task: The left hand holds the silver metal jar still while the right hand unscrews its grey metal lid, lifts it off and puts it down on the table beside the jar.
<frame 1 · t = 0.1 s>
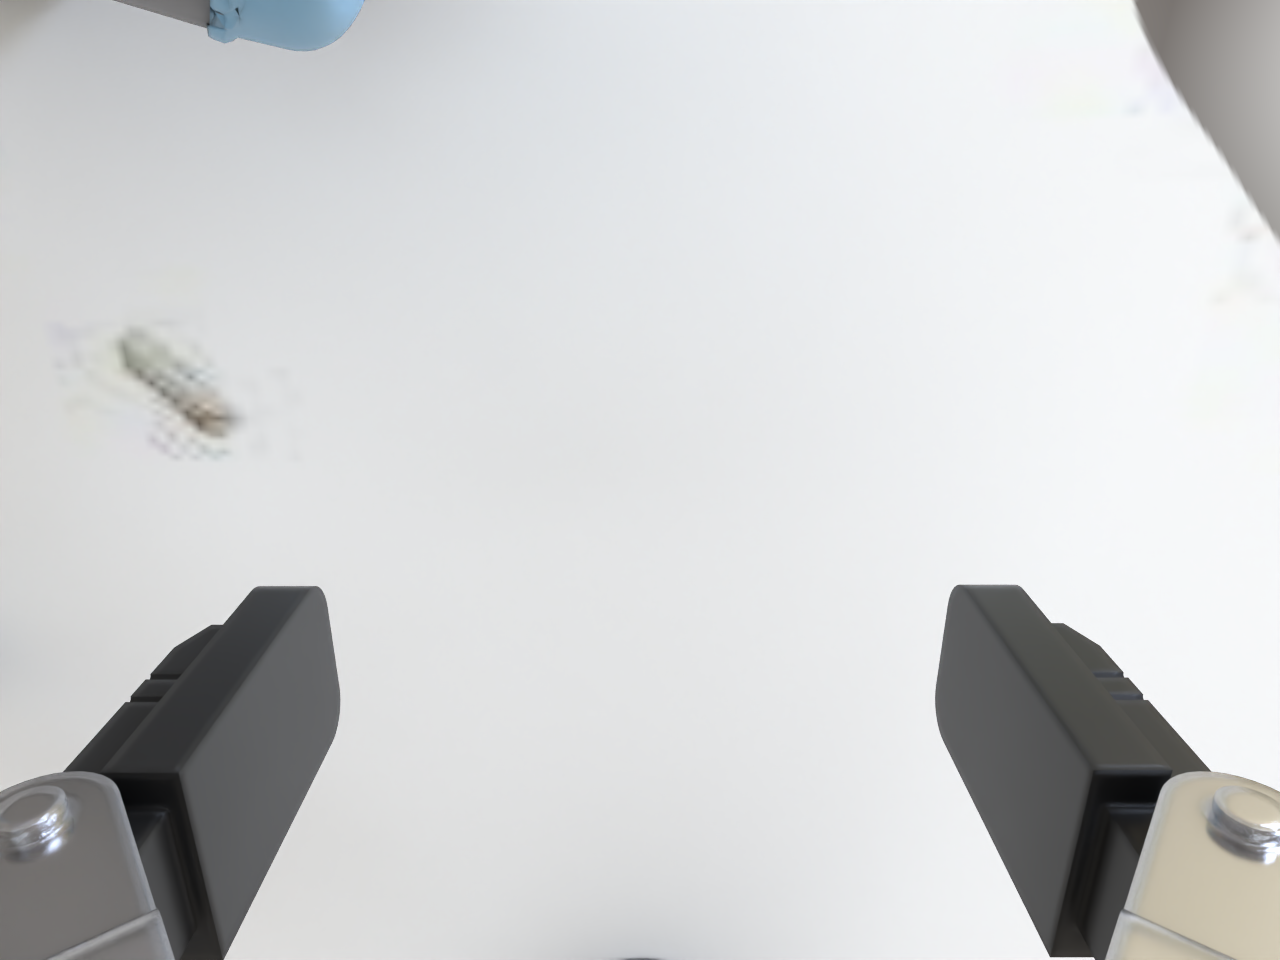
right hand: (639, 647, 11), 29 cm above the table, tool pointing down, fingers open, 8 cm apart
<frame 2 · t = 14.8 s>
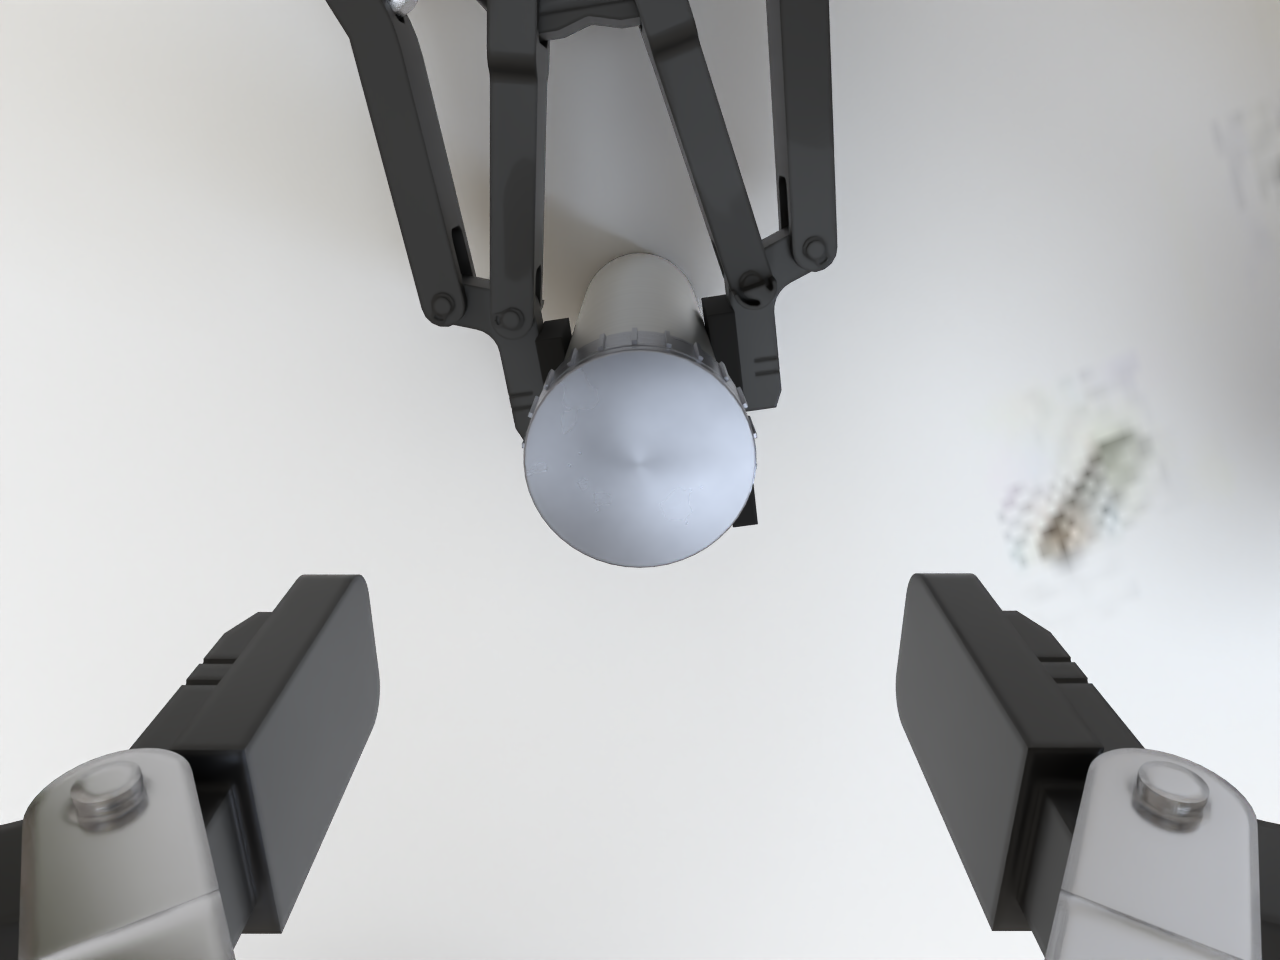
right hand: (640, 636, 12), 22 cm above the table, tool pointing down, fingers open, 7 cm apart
jar: (639, 310, 32), on the table, touching left hand
lid: (639, 458, 18), point 16 cm above the table, screwed on, not yet turned
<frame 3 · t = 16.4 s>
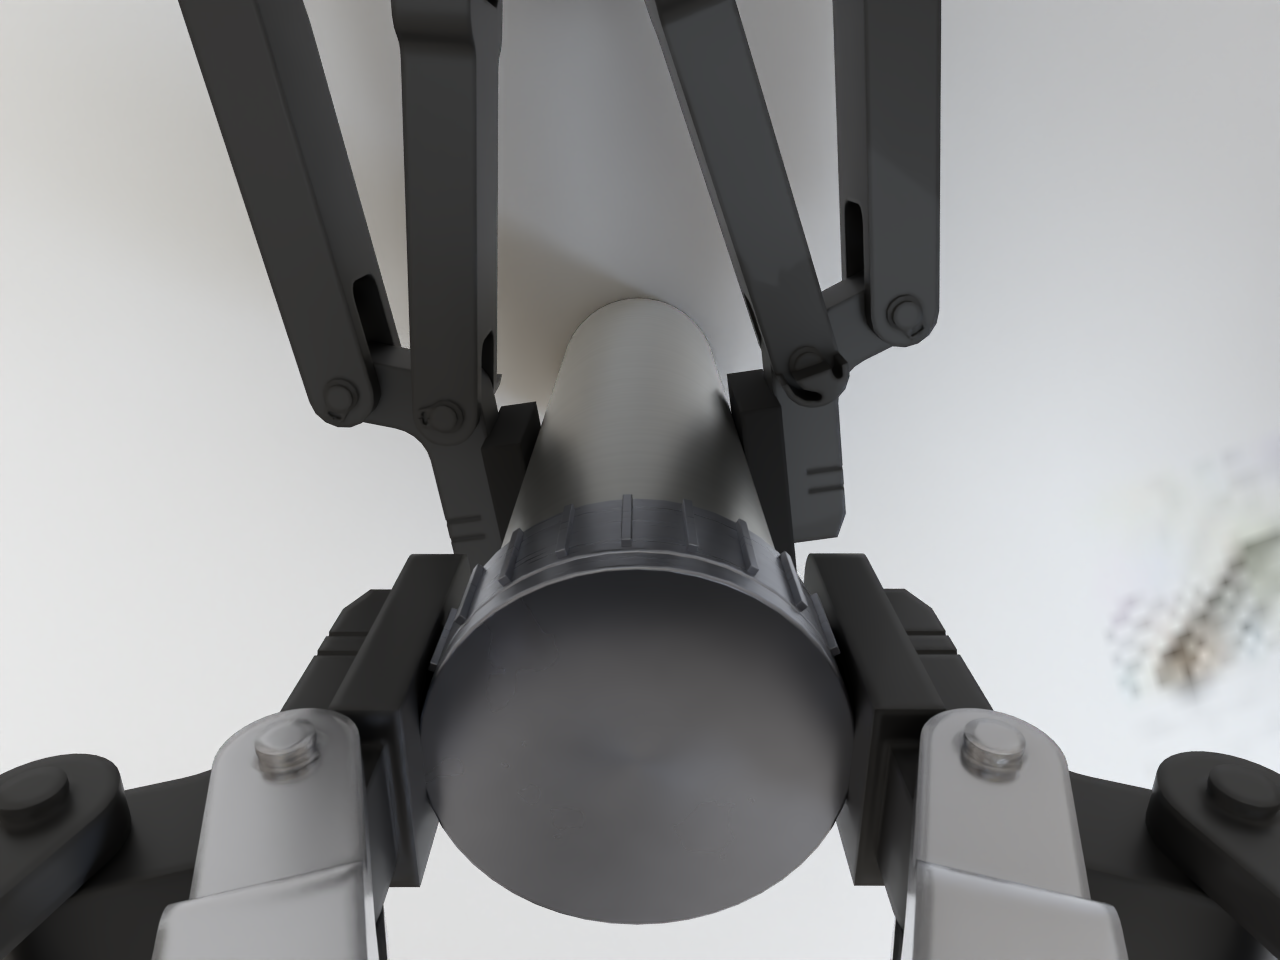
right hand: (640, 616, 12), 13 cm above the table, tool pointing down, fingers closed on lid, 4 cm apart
jar: (638, 373, 24), on the table, touching left hand
lid: (637, 741, 10), point 16 cm above the table, screwed on, not yet turned, touching right hand
when the right hand's fingers open (13 cm above the table, at t = 17.8 s): lid stays where it is, point 16 cm above the table.
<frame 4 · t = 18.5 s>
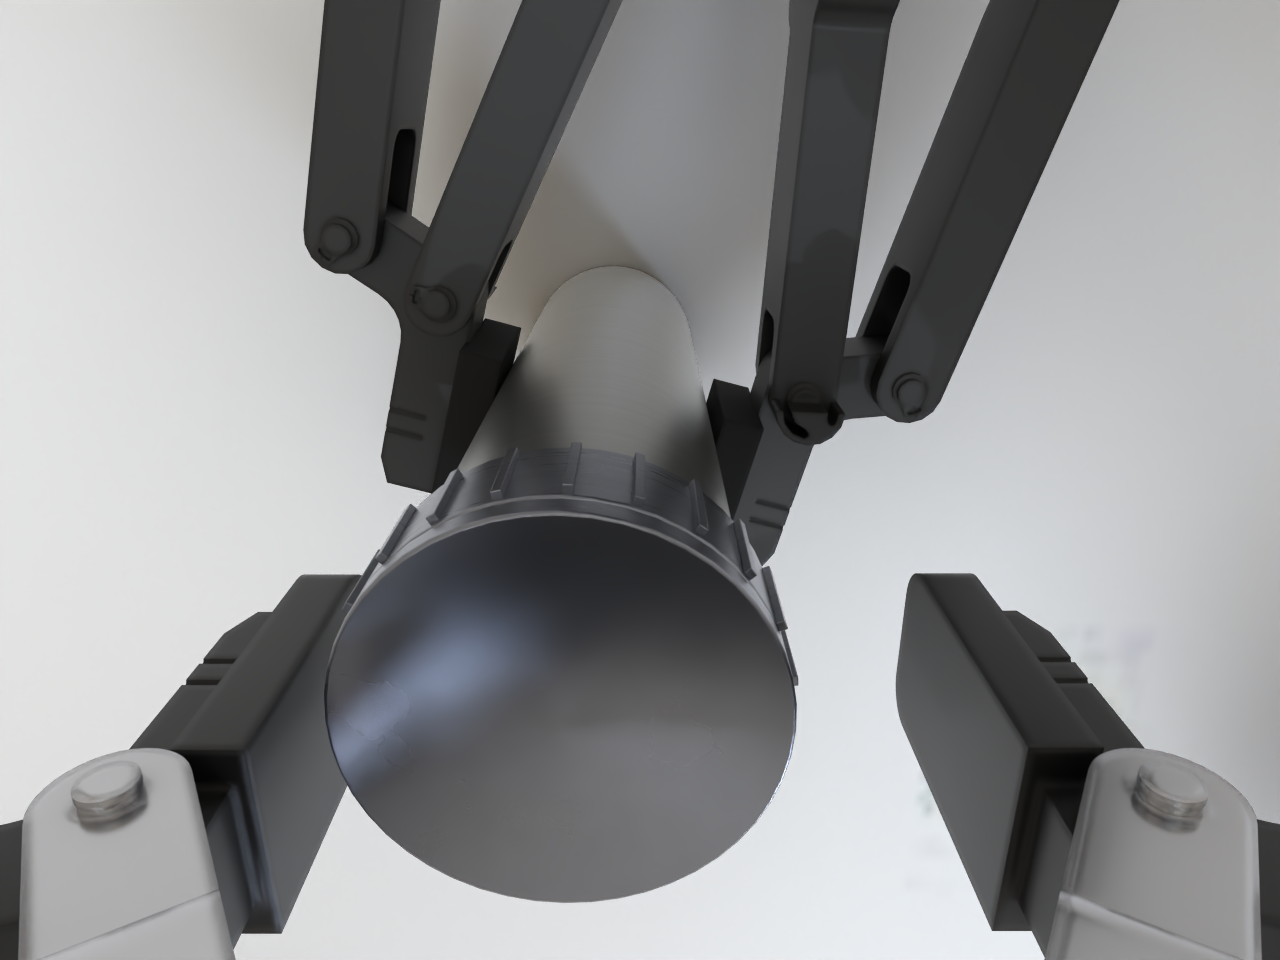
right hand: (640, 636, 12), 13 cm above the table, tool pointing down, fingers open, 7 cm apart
jar: (613, 344, 24), on the table, touching left hand
lid: (563, 706, 9), point 16 cm above the table, turned 67° so far, risen 0.2 cm, still on its thread
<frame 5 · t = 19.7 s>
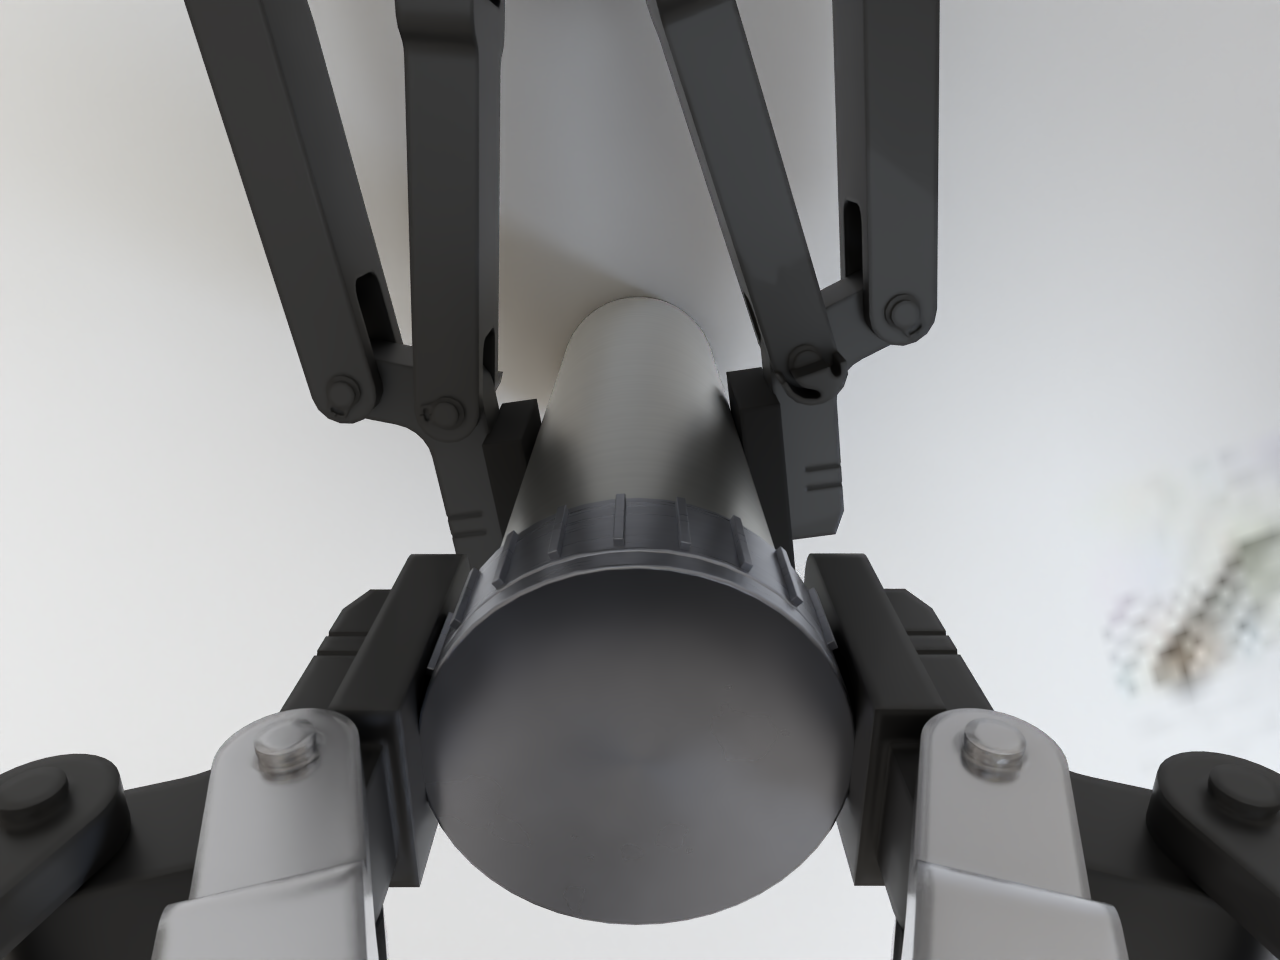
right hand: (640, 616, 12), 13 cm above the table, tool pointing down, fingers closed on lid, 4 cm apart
jar: (638, 372, 24), on the table, touching left hand
lid: (636, 741, 10), point 16 cm above the table, turned 67° so far, risen 0.2 cm, still on its thread, touching right hand
when the right hand's fingers open (0 cm above the table, at t = 25.7 s): lid drops 2 cm, point 1 cm above the table.
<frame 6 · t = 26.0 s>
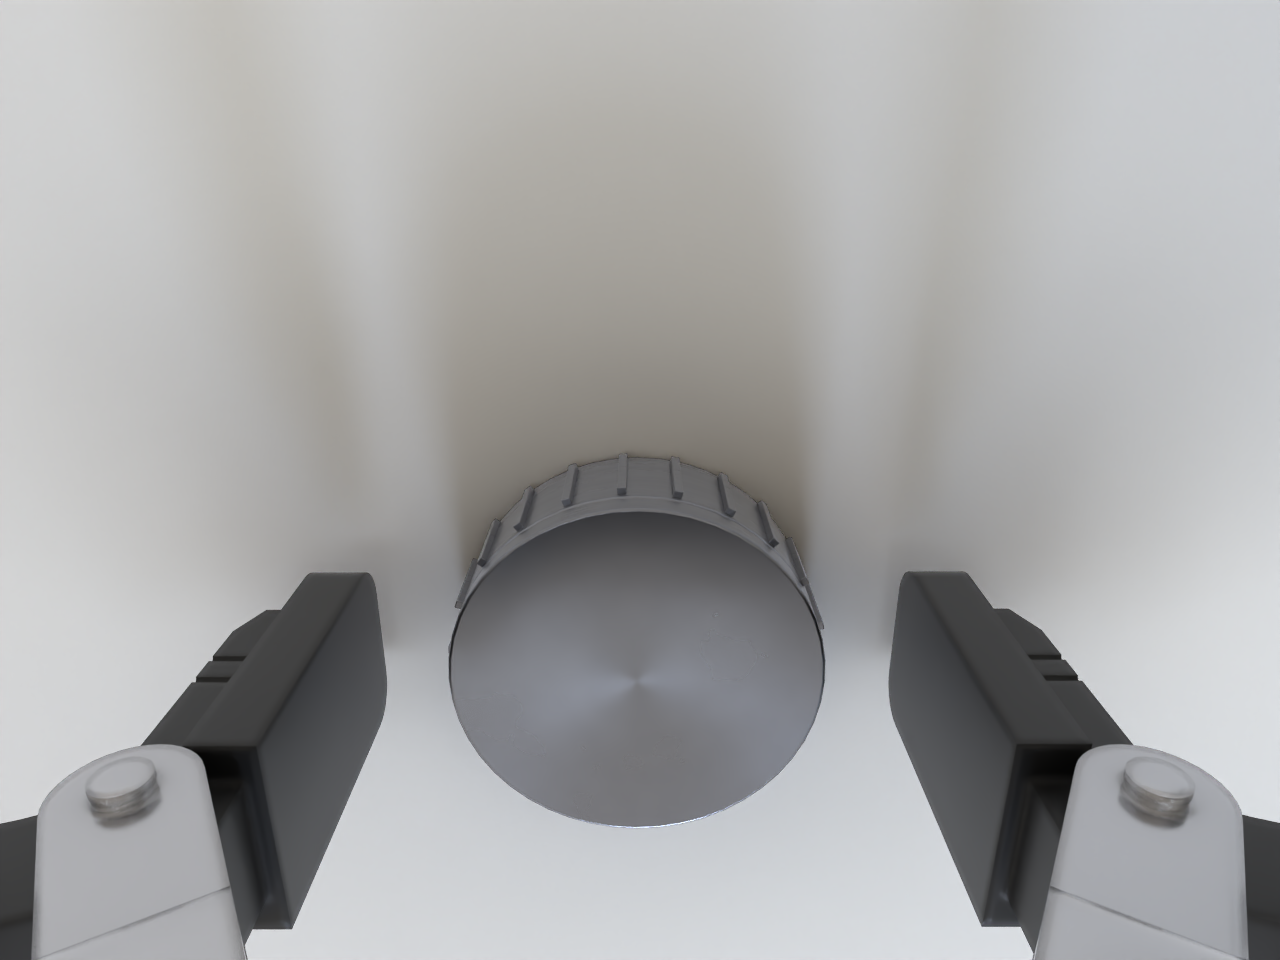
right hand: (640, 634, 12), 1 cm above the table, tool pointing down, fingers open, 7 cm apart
lid: (636, 665, 11), point 1 cm above the table, off its thread
when the left hand's fingers open (7 cm above the table, at t = 26.6 s): jar stays where it is, on the table.
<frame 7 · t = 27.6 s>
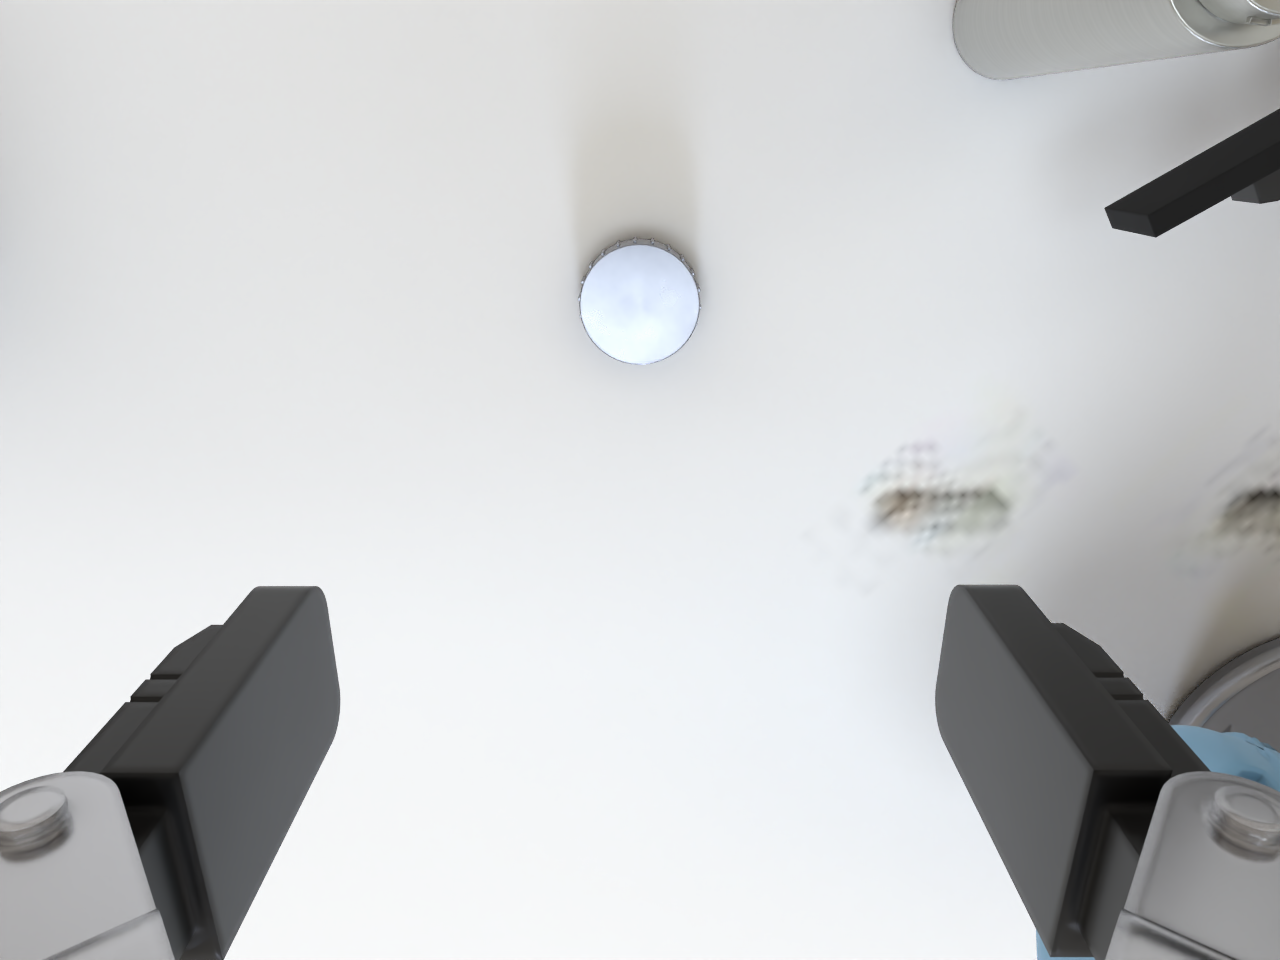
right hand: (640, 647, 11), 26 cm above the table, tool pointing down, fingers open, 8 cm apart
jar: (1009, 17, 32), on the table
lid: (639, 304, 35), point 1 cm above the table, off its thread
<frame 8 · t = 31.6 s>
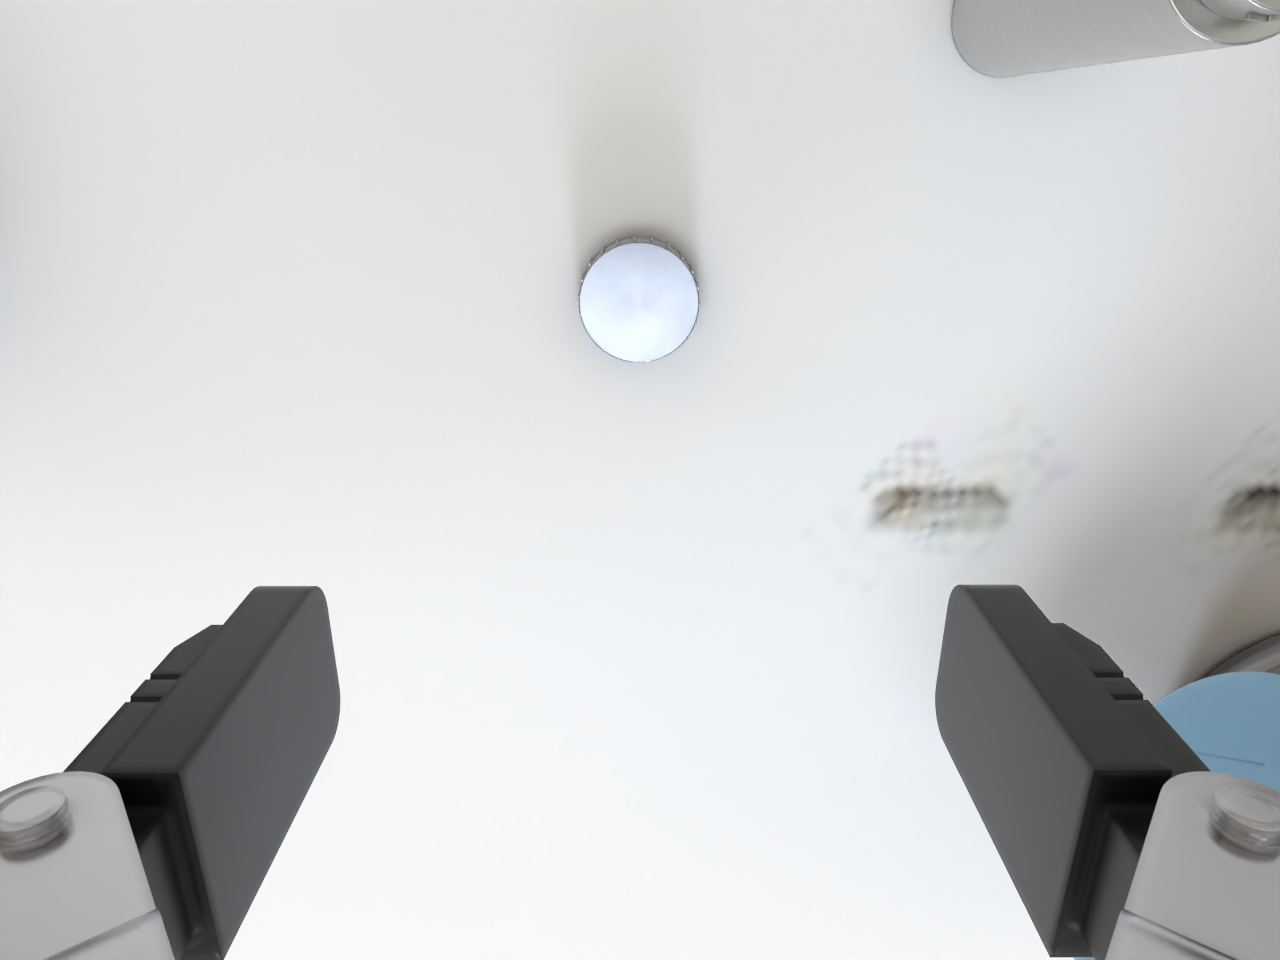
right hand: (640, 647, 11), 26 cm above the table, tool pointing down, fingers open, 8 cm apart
jar: (1008, 15, 32), on the table
lid: (639, 302, 35), point 1 cm above the table, off its thread
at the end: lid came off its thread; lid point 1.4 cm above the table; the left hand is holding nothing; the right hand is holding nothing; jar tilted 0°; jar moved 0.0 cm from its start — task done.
